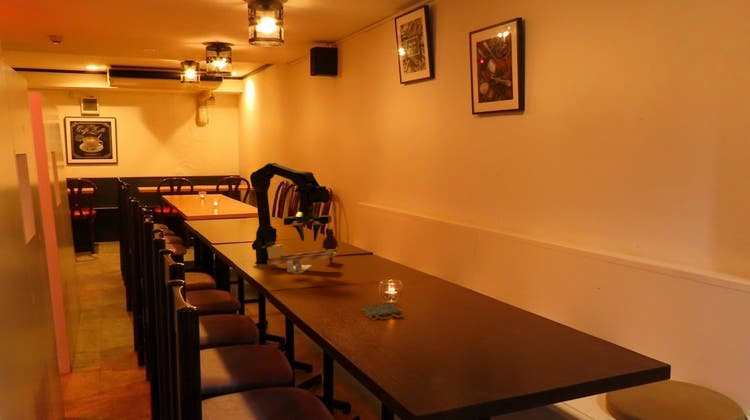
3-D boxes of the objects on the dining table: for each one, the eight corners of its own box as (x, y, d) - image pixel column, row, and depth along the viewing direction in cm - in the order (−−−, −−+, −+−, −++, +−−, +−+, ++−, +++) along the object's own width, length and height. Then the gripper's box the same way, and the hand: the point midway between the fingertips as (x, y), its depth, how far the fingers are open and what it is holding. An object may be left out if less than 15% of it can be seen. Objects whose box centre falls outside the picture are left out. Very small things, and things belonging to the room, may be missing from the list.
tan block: (269, 261, 240) (266, 247, 240) (273, 259, 245) (271, 245, 245) (280, 260, 239) (278, 246, 239) (284, 258, 244) (282, 243, 244)
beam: (267, 265, 239) (266, 260, 239) (274, 261, 247) (273, 256, 247) (333, 257, 234) (332, 252, 234) (338, 253, 242) (337, 248, 242)
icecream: (341, 262, 256) (340, 228, 254) (326, 264, 253) (324, 230, 251) (335, 259, 262) (334, 226, 260) (320, 261, 259) (318, 228, 257)
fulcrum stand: (276, 275, 235) (275, 263, 234) (289, 267, 250) (288, 255, 250) (300, 275, 233) (299, 263, 232) (311, 266, 249) (310, 255, 248)
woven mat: (370, 321, 170) (370, 315, 169) (361, 312, 180) (360, 306, 179) (404, 317, 173) (404, 310, 172) (393, 308, 183) (393, 302, 182)
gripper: (277, 206, 231) (280, 245, 233) (323, 204, 228) (326, 243, 229) (286, 203, 242) (289, 240, 244) (330, 201, 239) (333, 239, 240)
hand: (309, 241), depth 239 cm, fingers open, 5 cm apart
